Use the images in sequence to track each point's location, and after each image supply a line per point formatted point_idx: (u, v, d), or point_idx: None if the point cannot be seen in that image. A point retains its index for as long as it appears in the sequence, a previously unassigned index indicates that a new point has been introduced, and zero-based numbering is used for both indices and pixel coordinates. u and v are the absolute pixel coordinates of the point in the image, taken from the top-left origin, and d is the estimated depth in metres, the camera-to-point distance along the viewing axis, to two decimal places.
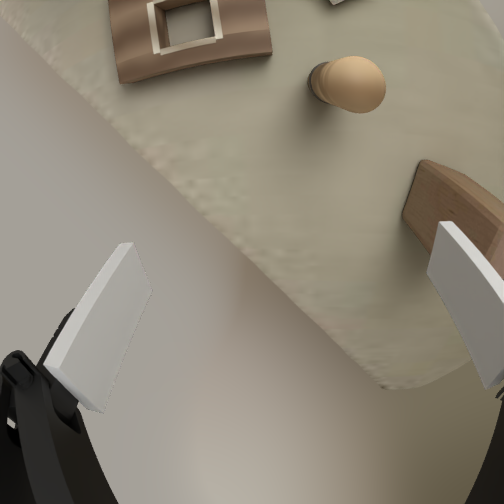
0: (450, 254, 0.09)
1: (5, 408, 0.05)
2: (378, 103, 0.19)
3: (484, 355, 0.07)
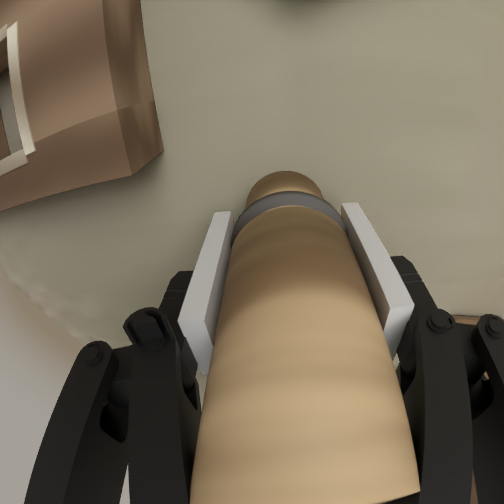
0: (348, 232, 0.11)
1: (104, 388, 0.06)
2: None
3: None
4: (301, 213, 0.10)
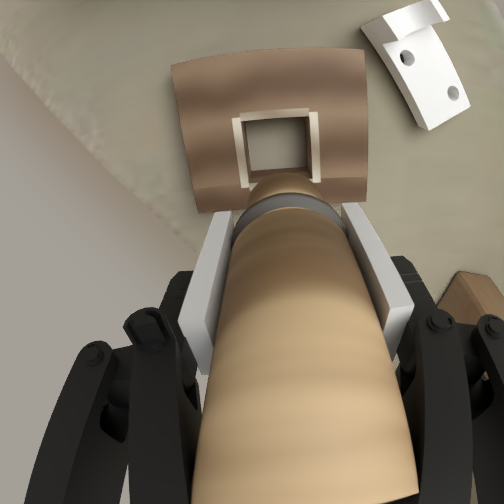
0: (348, 232, 0.11)
1: (104, 388, 0.06)
2: None
3: None
4: (301, 215, 0.10)
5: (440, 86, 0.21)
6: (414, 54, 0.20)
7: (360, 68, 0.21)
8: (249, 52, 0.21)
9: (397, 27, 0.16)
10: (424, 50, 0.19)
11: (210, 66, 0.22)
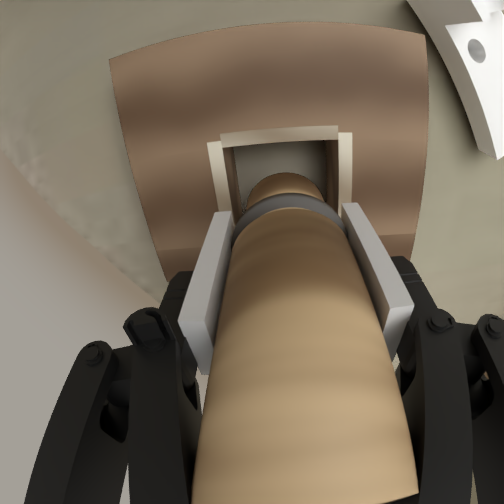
0: (348, 232, 0.11)
1: (104, 388, 0.06)
2: None
3: None
4: (301, 215, 0.10)
5: None
6: (484, 47, 0.10)
7: (420, 64, 0.11)
8: (236, 28, 0.11)
9: (479, 0, 0.06)
10: (496, 43, 0.09)
11: (170, 56, 0.12)
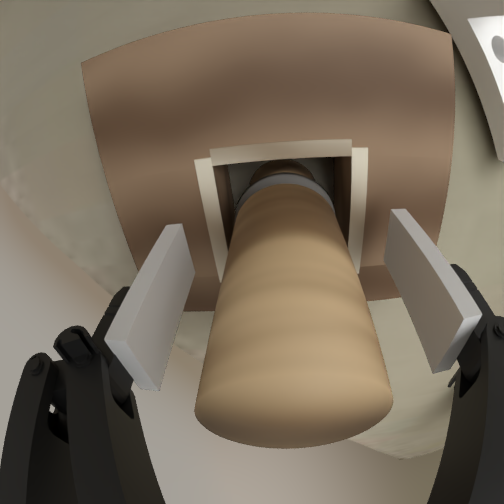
0: (400, 240, 0.10)
1: (48, 394, 0.06)
2: (351, 435, 0.07)
3: (430, 338, 0.08)
4: (292, 187, 0.12)
5: None
6: None
7: (446, 68, 0.09)
8: (228, 21, 0.09)
9: None
10: None
11: (149, 56, 0.10)
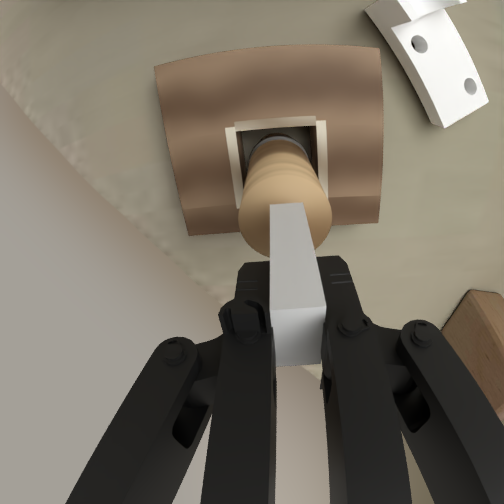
0: None
1: (182, 391, 0.06)
2: (318, 243, 0.15)
3: None
4: (282, 141, 0.20)
5: (456, 78, 0.17)
6: (427, 40, 0.16)
7: (375, 70, 0.18)
8: (245, 50, 0.18)
9: (409, 6, 0.12)
10: (438, 36, 0.15)
11: (200, 67, 0.18)
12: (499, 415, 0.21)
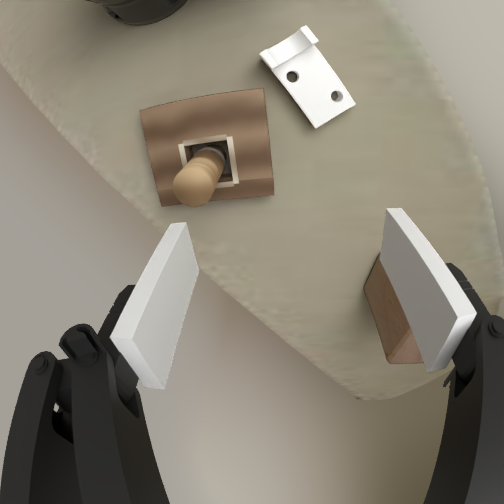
0: (395, 239, 0.11)
1: (53, 394, 0.06)
2: (208, 198, 0.33)
3: (425, 337, 0.08)
4: (206, 150, 0.38)
5: (323, 93, 0.34)
6: (298, 72, 0.33)
7: (260, 102, 0.35)
8: (186, 100, 0.35)
9: (271, 59, 0.29)
10: (308, 67, 0.32)
11: (163, 111, 0.36)
12: (402, 350, 0.38)
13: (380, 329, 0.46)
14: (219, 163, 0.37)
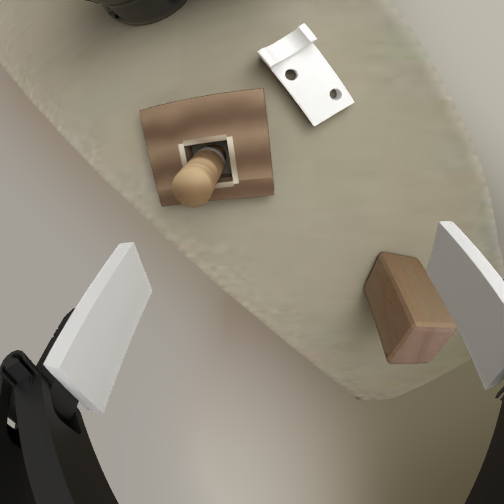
0: (450, 254, 0.09)
1: (5, 408, 0.05)
2: (207, 198, 0.33)
3: (484, 355, 0.07)
4: (206, 150, 0.38)
5: (322, 91, 0.34)
6: (297, 70, 0.33)
7: (260, 102, 0.35)
8: (186, 100, 0.35)
9: (269, 57, 0.29)
10: (306, 65, 0.32)
11: (163, 111, 0.36)
12: (402, 350, 0.38)
13: (380, 329, 0.46)
14: (219, 163, 0.37)
